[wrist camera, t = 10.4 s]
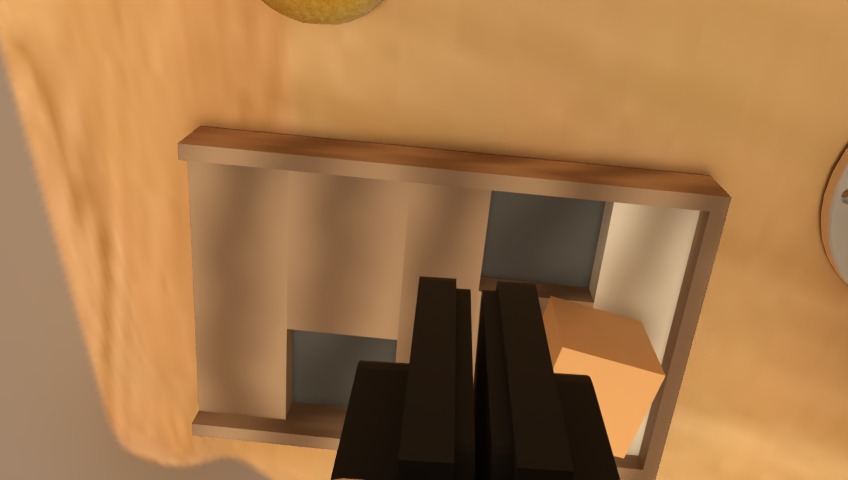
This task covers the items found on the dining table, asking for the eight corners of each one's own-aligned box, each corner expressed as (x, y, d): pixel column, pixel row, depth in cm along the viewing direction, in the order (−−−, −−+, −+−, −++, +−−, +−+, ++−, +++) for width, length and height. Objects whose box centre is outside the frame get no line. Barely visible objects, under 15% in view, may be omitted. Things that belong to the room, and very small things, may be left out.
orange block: (641, 321, 38) (665, 375, 34) (605, 397, 40) (623, 458, 36) (550, 295, 38) (562, 347, 33) (519, 373, 40) (526, 432, 35)
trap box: (710, 175, 37) (731, 197, 34) (641, 445, 44) (654, 482, 41) (200, 126, 37) (177, 143, 35) (210, 401, 44) (192, 435, 41)
